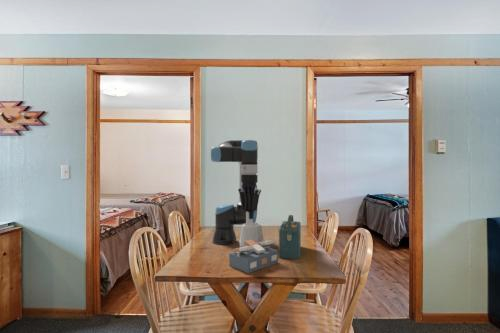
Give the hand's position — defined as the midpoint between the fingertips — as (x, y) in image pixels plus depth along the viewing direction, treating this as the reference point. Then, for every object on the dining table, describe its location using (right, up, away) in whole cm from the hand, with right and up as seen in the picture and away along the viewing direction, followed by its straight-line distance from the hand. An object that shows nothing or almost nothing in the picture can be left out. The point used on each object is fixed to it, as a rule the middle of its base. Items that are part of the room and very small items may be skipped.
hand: (249, 225), depth 123 cm
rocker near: (-3, -13, +3) cm, 13 cm away
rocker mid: (+2, -13, +8) cm, 15 cm away
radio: (+23, -21, +28) cm, 42 cm away
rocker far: (+7, -13, +12) cm, 19 cm away
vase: (+1, -21, +29) cm, 36 cm away
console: (+2, -20, +7) cm, 22 cm away
